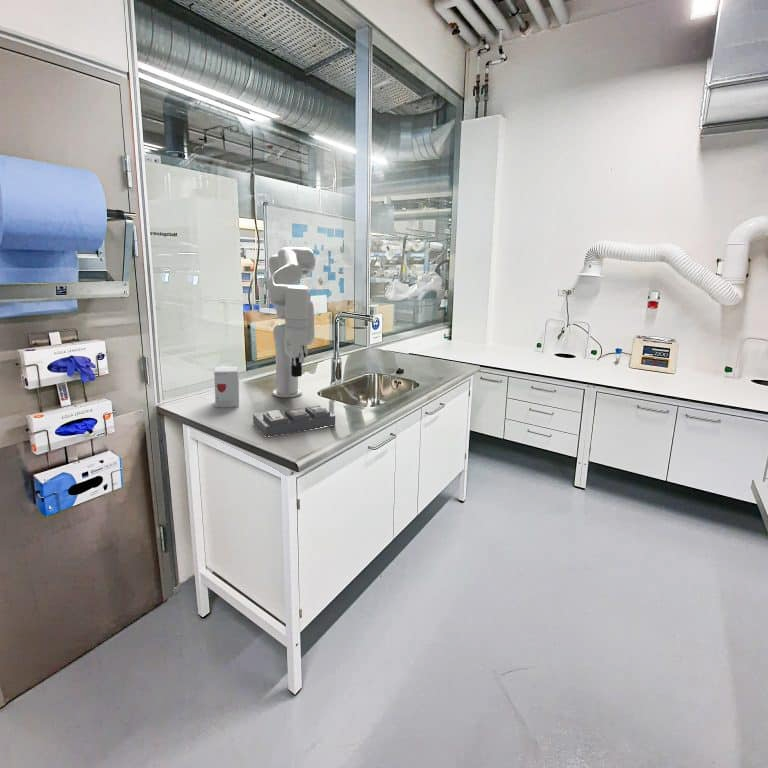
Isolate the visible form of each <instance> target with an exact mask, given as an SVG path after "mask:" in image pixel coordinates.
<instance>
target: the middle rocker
mask: <svg viewBox="0 0 768 768" xmlns="http://www.w3.org/2000/svg"><path fill="white" fill-rule="evenodd" d="M289 413H291V414H292V415H293V416H299V415H305V414H306V412H305V411H303V410H292V411H289Z"/></svg>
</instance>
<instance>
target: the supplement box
mask: <svg viewBox="0 0 768 768" xmlns="http://www.w3.org/2000/svg"><path fill="white" fill-rule="evenodd" d="M213 372H214V373H213V374H214V375H213V376H214V378H213V379H214V394H215V395H214V398H215V401H214V402H215V408H217V407H220V408H239V406H240V381H239V380H240V379H239V377H240V376H239V375H240V373H239V366H215V368H214V371H213ZM217 409H218V408H217Z"/></svg>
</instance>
